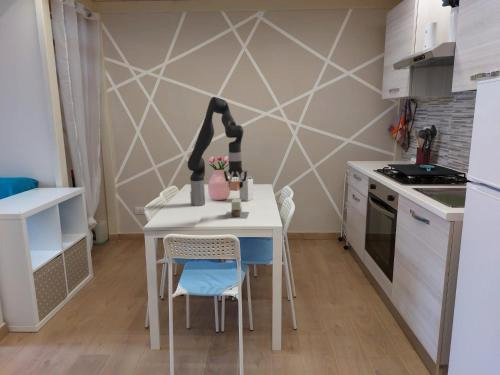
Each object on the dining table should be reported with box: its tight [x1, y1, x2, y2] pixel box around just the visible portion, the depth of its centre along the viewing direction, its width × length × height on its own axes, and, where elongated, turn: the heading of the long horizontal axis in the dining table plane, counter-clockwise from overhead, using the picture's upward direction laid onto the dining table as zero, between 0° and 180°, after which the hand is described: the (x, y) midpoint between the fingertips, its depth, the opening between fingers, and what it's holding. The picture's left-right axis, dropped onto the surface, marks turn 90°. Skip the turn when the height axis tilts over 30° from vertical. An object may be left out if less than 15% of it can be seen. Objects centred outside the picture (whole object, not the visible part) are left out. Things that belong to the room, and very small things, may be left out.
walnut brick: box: [230, 207, 243, 217], centre depth 219 cm, size 5×8×4 cm, turn 174°
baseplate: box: [223, 211, 250, 220], centre depth 220 cm, size 14×14×2 cm
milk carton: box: [238, 173, 254, 202], centre depth 261 cm, size 7×7×19 cm
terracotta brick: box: [228, 180, 242, 192], centre depth 216 cm, size 5×8×4 cm, turn 160°
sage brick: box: [230, 198, 242, 210], centre depth 218 cm, size 5×8×4 cm, turn 176°
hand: (236, 187), depth 216 cm, fingers closed on terracotta brick, 5 cm apart
